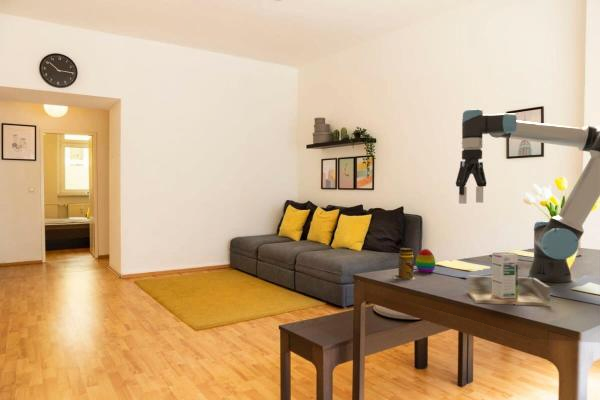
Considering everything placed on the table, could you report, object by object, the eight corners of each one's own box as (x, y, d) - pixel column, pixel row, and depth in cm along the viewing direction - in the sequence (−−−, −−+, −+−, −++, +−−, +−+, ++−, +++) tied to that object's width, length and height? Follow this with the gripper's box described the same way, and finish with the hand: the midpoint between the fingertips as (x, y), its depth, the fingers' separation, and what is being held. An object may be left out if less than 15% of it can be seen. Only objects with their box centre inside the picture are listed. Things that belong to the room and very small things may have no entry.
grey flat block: (534, 295, 154) (535, 277, 153) (549, 306, 140) (550, 287, 140) (467, 292, 158) (467, 275, 157) (475, 302, 144) (476, 284, 144)
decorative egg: (428, 269, 200) (428, 247, 200) (439, 272, 192) (439, 249, 192) (412, 270, 198) (412, 248, 197) (422, 274, 190) (423, 250, 189)
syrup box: (502, 299, 144) (502, 254, 143) (491, 294, 150) (491, 251, 149) (518, 298, 145) (518, 253, 144) (506, 293, 151) (507, 251, 150)
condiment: (415, 279, 179) (416, 249, 179) (394, 279, 180) (394, 249, 179) (412, 275, 186) (412, 247, 186) (392, 275, 187) (392, 247, 187)
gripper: (478, 151, 188) (477, 201, 188) (446, 148, 171) (446, 203, 172) (495, 150, 182) (494, 202, 183) (465, 147, 165) (464, 204, 166)
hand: (471, 203), depth 177 cm, fingers open, 13 cm apart
